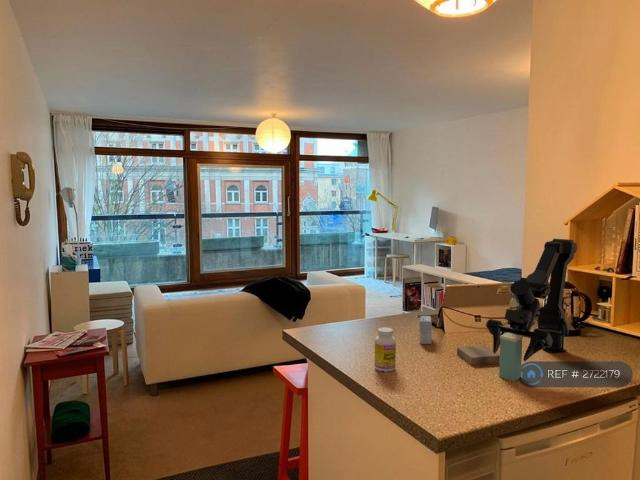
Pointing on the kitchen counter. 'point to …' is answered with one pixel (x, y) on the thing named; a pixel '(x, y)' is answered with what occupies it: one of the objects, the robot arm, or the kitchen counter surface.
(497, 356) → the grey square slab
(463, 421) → the kitchen counter surface
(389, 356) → the supplement bottle
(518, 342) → the tea tin
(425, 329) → the medicine box
